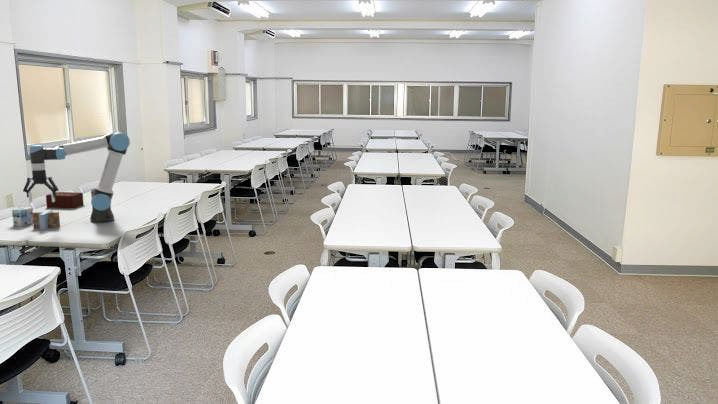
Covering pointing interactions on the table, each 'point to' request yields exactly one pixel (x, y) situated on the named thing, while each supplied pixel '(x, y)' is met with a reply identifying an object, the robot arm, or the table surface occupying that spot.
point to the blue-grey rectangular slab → (44, 219)
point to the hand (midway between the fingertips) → (42, 202)
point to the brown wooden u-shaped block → (52, 221)
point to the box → (65, 200)
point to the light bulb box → (22, 216)
